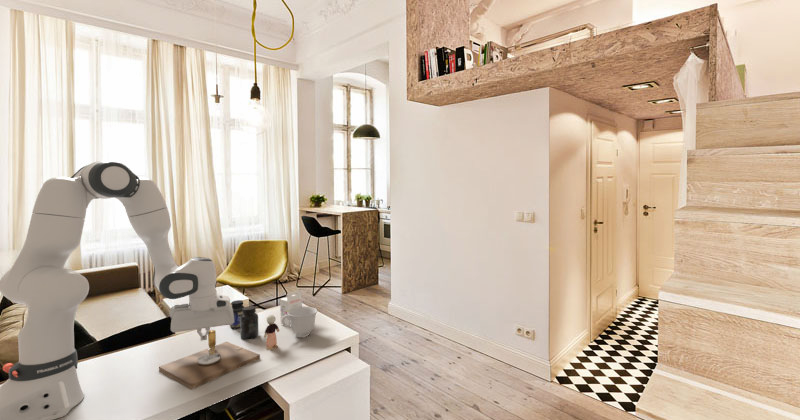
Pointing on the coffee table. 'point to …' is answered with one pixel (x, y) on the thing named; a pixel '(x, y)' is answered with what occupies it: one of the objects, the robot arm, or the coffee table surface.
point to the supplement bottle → (249, 323)
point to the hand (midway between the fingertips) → (203, 339)
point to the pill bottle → (237, 313)
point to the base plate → (197, 374)
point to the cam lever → (210, 351)
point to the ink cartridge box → (290, 304)
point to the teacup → (301, 320)
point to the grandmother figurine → (271, 333)
